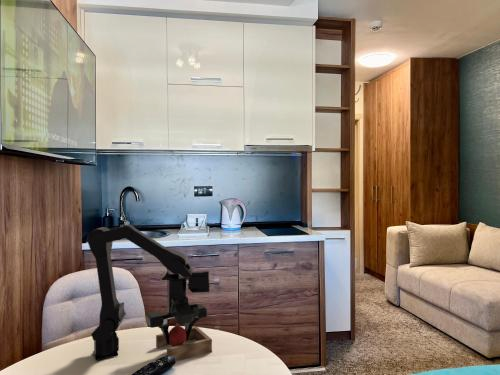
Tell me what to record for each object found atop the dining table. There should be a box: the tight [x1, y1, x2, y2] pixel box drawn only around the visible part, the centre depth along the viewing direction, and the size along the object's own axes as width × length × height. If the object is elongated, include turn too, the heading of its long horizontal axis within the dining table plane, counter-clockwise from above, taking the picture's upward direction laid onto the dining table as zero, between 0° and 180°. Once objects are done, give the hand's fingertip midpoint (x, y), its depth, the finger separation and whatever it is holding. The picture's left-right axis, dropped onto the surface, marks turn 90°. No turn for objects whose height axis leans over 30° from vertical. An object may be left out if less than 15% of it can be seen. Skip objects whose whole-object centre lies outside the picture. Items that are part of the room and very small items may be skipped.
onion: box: [168, 322, 186, 347], centre depth 113 cm, size 6×6×8 cm
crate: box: [155, 325, 213, 362], centre depth 115 cm, size 14×12×4 cm
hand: (177, 341), depth 114 cm, fingers closed on onion, 6 cm apart
